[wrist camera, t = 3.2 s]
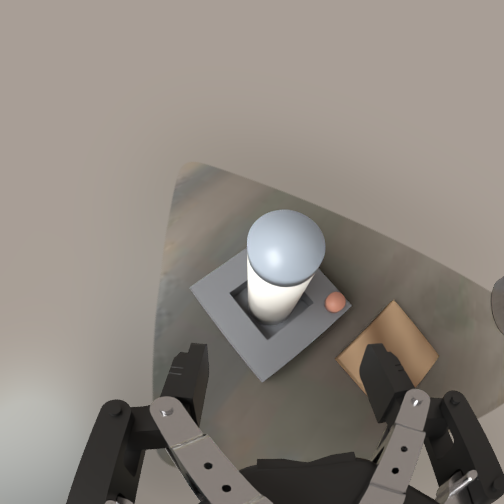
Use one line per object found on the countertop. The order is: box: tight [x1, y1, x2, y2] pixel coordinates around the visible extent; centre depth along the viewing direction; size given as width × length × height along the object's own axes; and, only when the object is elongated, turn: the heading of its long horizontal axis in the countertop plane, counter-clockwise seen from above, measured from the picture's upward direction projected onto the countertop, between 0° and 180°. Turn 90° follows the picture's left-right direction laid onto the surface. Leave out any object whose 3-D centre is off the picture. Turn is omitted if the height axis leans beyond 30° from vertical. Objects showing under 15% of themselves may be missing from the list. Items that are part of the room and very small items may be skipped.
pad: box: [335, 300, 439, 395], centre depth 24 cm, size 9×9×1 cm
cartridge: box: [247, 210, 325, 325], centre depth 21 cm, size 4×4×13 cm
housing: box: [189, 248, 352, 382], centre depth 26 cm, size 11×11×4 cm
